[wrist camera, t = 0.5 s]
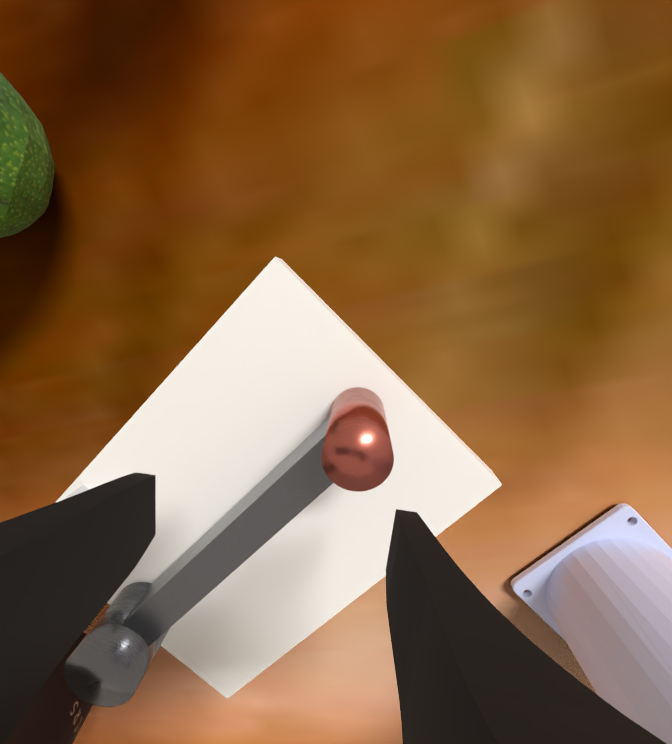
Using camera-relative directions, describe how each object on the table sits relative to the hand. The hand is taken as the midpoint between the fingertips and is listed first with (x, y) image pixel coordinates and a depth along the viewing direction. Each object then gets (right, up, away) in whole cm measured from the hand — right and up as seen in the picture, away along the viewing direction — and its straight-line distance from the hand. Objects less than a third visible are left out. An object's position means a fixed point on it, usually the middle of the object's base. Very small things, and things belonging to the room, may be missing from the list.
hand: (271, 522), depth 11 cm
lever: (-3, -4, +9) cm, 10 cm away
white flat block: (-3, -3, +11) cm, 12 cm away
